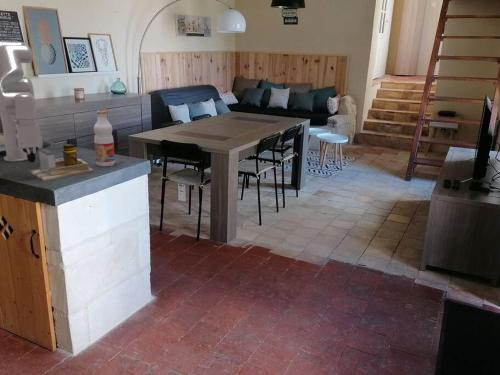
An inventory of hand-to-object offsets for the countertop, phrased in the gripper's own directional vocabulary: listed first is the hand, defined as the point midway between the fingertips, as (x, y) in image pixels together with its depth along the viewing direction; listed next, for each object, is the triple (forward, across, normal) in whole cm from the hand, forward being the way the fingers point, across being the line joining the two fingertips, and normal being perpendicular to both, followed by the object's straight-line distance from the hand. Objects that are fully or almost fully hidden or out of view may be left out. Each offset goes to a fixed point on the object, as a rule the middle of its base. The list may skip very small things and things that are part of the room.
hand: (31, 161), depth 199 cm
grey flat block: (+6, +7, 0) cm, 10 cm away
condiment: (+7, +17, +1) cm, 18 cm away
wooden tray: (+8, +14, 0) cm, 16 cm away
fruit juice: (+8, +37, +2) cm, 37 cm away
